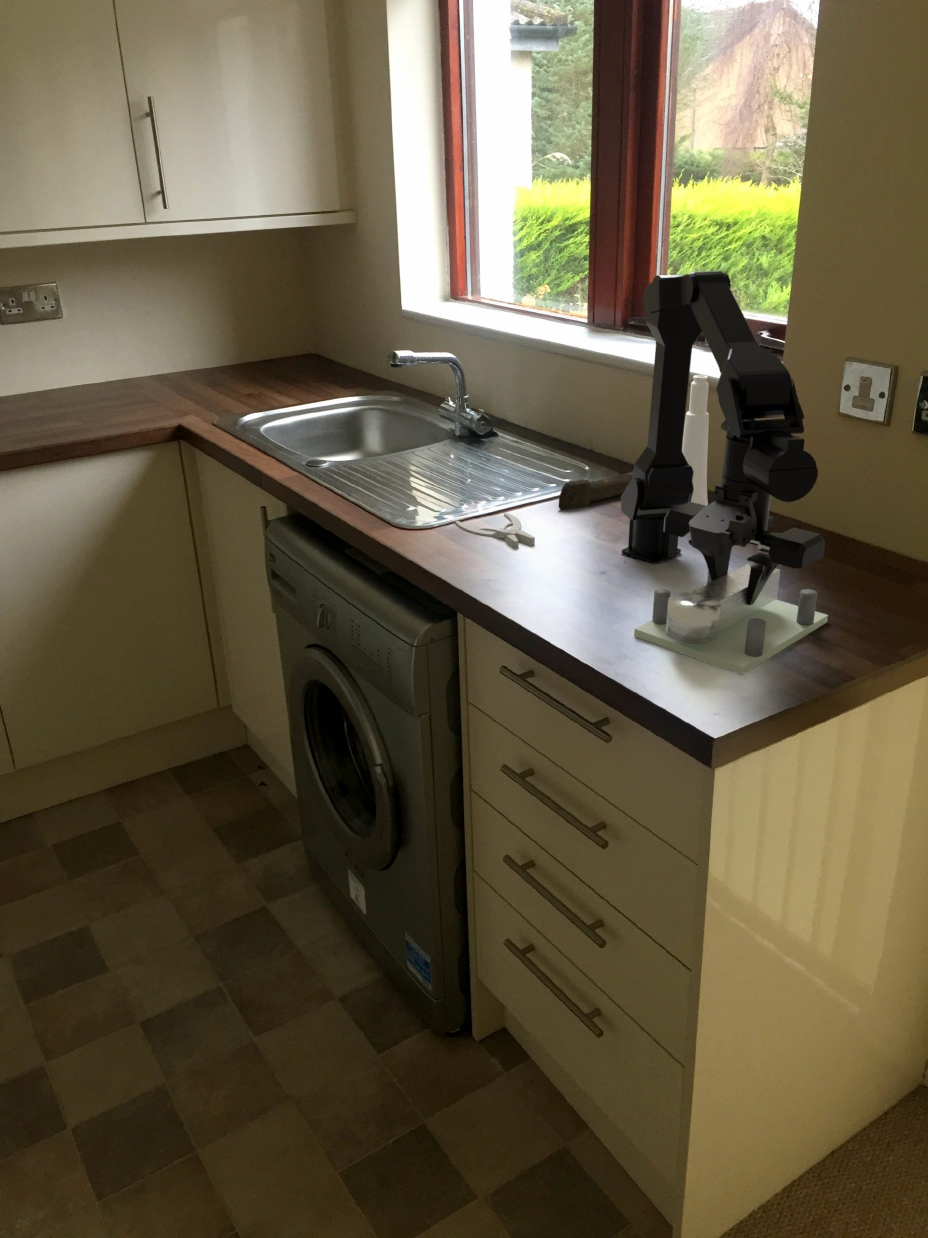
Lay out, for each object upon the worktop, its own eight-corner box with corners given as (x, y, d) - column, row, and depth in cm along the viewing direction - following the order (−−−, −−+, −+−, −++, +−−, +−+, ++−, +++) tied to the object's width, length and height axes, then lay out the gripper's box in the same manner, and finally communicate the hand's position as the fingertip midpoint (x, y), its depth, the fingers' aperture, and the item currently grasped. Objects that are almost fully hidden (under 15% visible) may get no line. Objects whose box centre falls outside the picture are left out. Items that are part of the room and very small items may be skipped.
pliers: (507, 507, 168) (553, 534, 156) (507, 516, 169) (553, 543, 156) (453, 516, 164) (496, 544, 152) (454, 525, 165) (496, 554, 152)
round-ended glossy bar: (655, 633, 119) (657, 602, 118) (741, 588, 131) (745, 559, 130) (698, 648, 115) (701, 616, 114) (784, 601, 128) (787, 571, 126)
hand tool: (632, 488, 182) (634, 463, 180) (648, 493, 179) (649, 467, 177) (549, 507, 172) (549, 481, 171) (563, 513, 169) (564, 486, 167)
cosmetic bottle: (675, 514, 167) (685, 379, 158) (668, 503, 173) (677, 372, 164) (711, 514, 167) (724, 379, 158) (703, 502, 173) (715, 372, 164)
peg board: (634, 636, 125) (636, 598, 123) (723, 590, 137) (726, 556, 135) (741, 675, 115) (746, 635, 113) (827, 622, 128) (832, 585, 126)
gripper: (640, 475, 119) (633, 597, 125) (785, 509, 107) (768, 642, 113) (694, 456, 126) (684, 573, 133) (835, 486, 114) (817, 613, 120)
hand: (734, 599), depth 125 cm, fingers closed on round-ended glossy bar, 4 cm apart
